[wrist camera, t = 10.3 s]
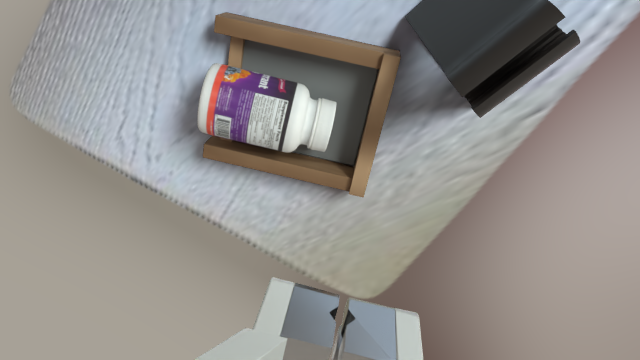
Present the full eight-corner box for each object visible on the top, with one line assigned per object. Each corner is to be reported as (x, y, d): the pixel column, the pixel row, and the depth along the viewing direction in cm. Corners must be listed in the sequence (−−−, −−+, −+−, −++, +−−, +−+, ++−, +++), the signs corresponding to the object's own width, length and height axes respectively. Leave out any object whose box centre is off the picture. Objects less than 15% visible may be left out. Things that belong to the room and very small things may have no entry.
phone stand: (404, 15, 34) (413, 38, 24) (473, -46, 32) (517, -52, 21) (477, 105, 37) (515, 163, 26) (546, 53, 34) (620, 93, 24)
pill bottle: (219, 61, 37) (336, 91, 38) (206, 127, 38) (320, 154, 39) (205, 61, 32) (342, 95, 33) (191, 136, 33) (323, 167, 34)
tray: (226, 12, 36) (213, 16, 33) (399, 50, 35) (400, 57, 33) (212, 146, 41) (200, 159, 38) (364, 181, 40) (363, 197, 38)
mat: (246, 35, 36) (245, 36, 36) (378, 65, 36) (378, 65, 36) (234, 136, 40) (233, 137, 40) (353, 164, 40) (353, 165, 40)
